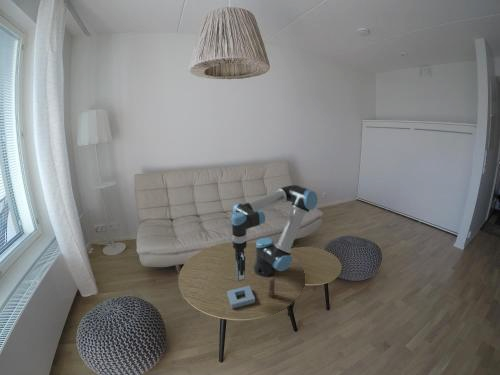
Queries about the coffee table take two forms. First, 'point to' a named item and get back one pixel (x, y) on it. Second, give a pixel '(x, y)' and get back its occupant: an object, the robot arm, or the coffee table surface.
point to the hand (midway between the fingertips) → (240, 276)
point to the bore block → (243, 301)
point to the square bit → (238, 271)
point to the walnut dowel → (271, 287)
